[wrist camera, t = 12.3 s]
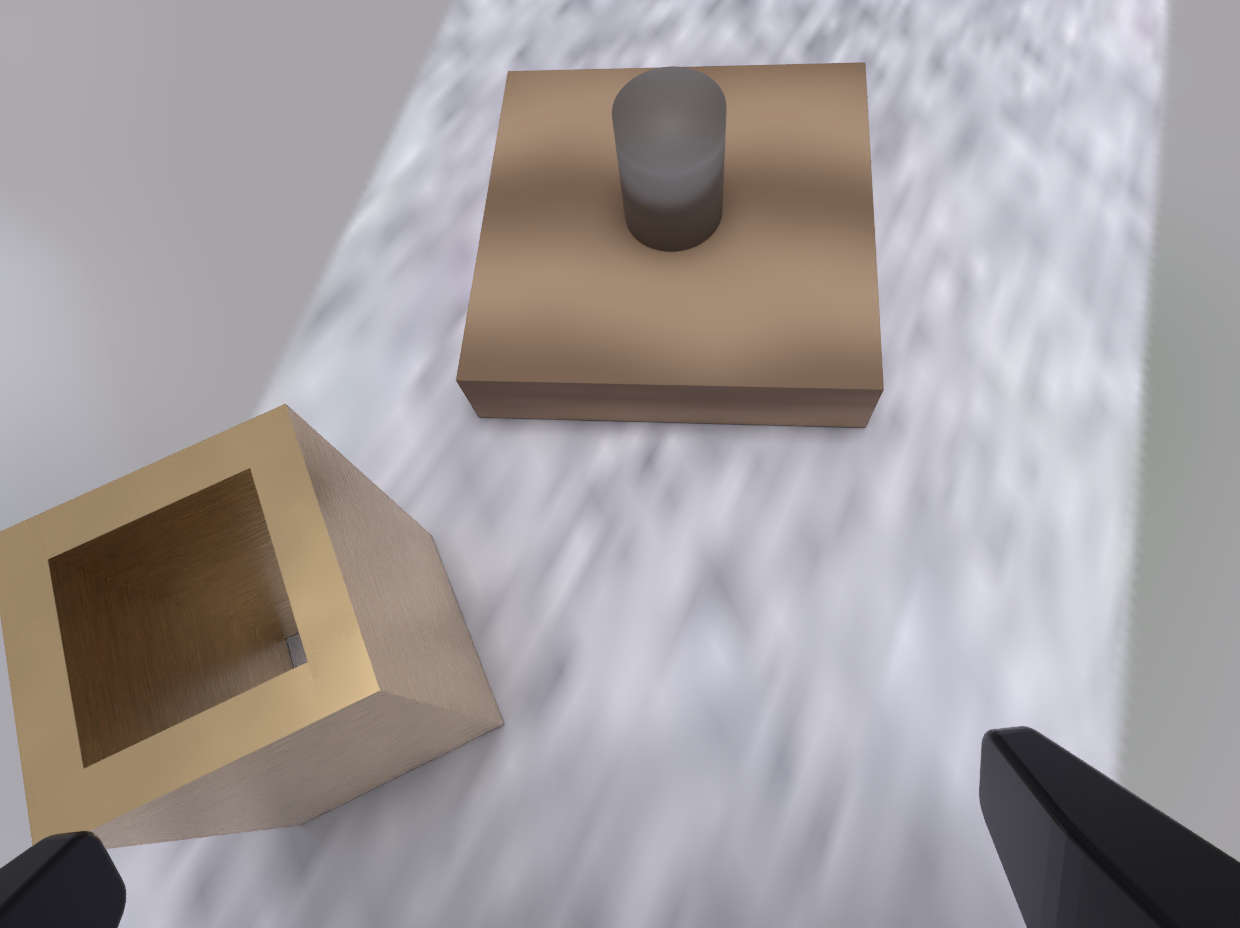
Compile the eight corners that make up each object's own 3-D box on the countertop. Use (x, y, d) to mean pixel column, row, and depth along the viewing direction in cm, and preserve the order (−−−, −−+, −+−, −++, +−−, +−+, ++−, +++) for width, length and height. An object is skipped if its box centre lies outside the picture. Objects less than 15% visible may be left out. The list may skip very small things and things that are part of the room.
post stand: (865, 427, 24) (922, 308, 18) (478, 416, 25) (408, 302, 19) (851, 121, 28) (893, -58, 22) (522, 126, 29) (477, -41, 23)
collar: (504, 724, 21) (380, 690, 13) (299, 825, 21) (34, 857, 13) (431, 535, 24) (285, 403, 15) (244, 622, 23) (-12, 536, 15)
